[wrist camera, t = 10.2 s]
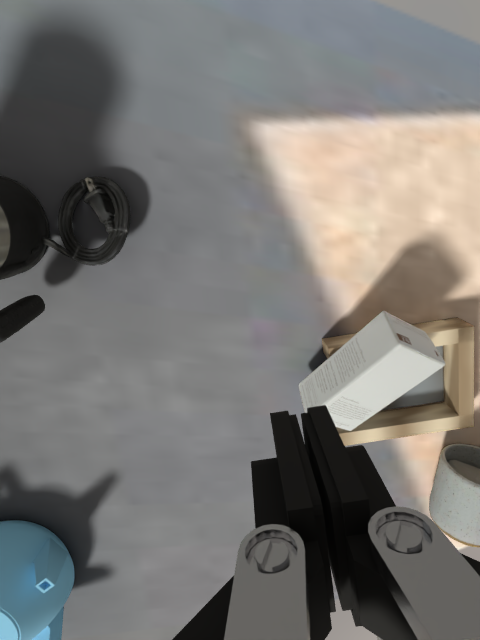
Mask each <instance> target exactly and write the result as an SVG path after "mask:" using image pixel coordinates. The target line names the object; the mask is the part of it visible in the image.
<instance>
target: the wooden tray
mask: <svg viewBox="0 0 480 640" xmlns="http://www.w3.org/2000/svg"><path fill="white" fill-rule="evenodd" d="M413 326H415V327H417V328H419V329H421V330H423V331H425V332H426V334H427V335H428V336H429V338H430V339H431V341H432V342H433V344H434V345H435V347H436V349H437V350H438V352H439V353H440V355H441V356H442V358H443V360H444V361H445V366H444V388H443V367H442V368H441V369H439V370H438V371H436V372H435V373H434V374H432V375H431V376H429V377H428V378H426V379H425V380H423V381H422V382H421V383H419V384H418V385H416V386H415V387H413V388H412V389H410V390H409V391H408V392H406V393H405V394H403V395H402V396H400V397H399V398H398V399H396V400H395V401H393V402H392V403H390V404H389V405H387V406H386V407H385V408H383V409H382V410H388V409H395V408H401V409H395V410H388V411H382V410H380V411H381V412H377V413H376V414H375V415H373V416H372V417H370V418H369V419H367V420H366V421H365V422H363V423H362V424H360V425H359V426H357V427H356V428H355V429H353V430H351V431H348V430H345V429H341V428H338V427H336V428H337V431H338V433H339V435H340V437H341V439H342V441H343V444H344V446H346V445H353V444H360V443H367V442H373V441H380V440H387V439H394V438H400V437H407V436H414V435H421V434H428V433H434V432H441V431H448V430H455V429H461V428H468V427H474V326H473V325H471V324H469V323H467V322H465V321H463V320H461V319H459V318H451V319H445V320H438V321H432V322H425V323H419V324H413ZM356 334H357V333H355V334H348V335H342V336H336V337H329V338H323V339H322V344H323V352H324V354H325V355H326V357H327V359H328V358H329V357H330V356H331V355H333V354H334V353H335V352H336V351H337V350H338V349H340V348H341V347H342V346H343V345H344V344H345V343H346V342H347V341H349V340H350V339H351V338H352V337H353V336H354V335H356ZM442 401H444V402H442ZM435 402H441V403H435ZM428 403H435V404H428ZM422 404H428V405H422ZM415 405H421V406H415ZM408 406H415V407H408ZM402 407H408V408H402Z"/></svg>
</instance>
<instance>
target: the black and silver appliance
mask: <svg viewBox="0 0 480 640" xmlns="http://www.w3.org/2000/svg"><path fill="white" fill-rule="evenodd" d="M88 191H89V194H88V195H87V196H86V197H85V198H84V202H86V203H89V204H90V205H91V207H92V209H93V210H94V211H95V213H96V214H97V215H98V217H99V221H100V222H102V223H104V225H105V228H106V231H107V232H108V233H109V236H108V238H107V240H106V242H105V243H104V244H103V245H102V246H101V247H99V248H96V249H87V248H85V247H83V246H81V245H80V244H79V243H78V241H77V240H76V239H75V236H74V233H73V227H72V218H73V213H74V210H75V207H76V205H77V203H78V201H79V200H80V198H81V197H82V196H83V195H84V194H85V193H86V192H88ZM112 202H113V203H112ZM113 204H114V206H113ZM129 225H130V206H129V202H128V199H127V197H126V195H125V193H124V192H123V190H122V189H121V188H120V187H119V186H118V185H117V184H116V183H115V182H113V181H112V180H109V179H107V178H105V177H87V178H86V179H83V180H81V181H80V182H79V183H76V184H75V185H73V186H72V187H71V188H70V189H69V190H68V191H67V193H66V194H65V196H64V198H63V201H62V205H61V207H60V211H59V216H58V227H59V232H60V236H61V239H62V241H63V244H64V245H65V248H66V249H65V248H63V247H61V246H60V245H59V244H57V243H56V242H55V241H53V240H51V239H49V229H48V222H47V218H46V216H45V213H44V211H43V208H42V206H41V205H40V203H39V202H38V200H37V199H36V198H35V196H34V195H33V194H32V193H31V192H30V191H29V190H28V189H26V188H25V187H24V186H23V185H21V184H19V183H17V182H16V181H14V180H12V179H9V178H6V177H3V176H0V280H2V279H5V278H9V277H12V276H14V275H17V274H20V273H23V272H25V271H27V270H29V269H31V268H32V267H33V266H35V265H36V264H37V263H38V262H39V261H40V259H41V258H42V256H43V255H44V253H45V250H46V248H47V245H48V246H50V247H52V248H54V249H56V250H57V251H59V252H61V253H62V254H64V255H66V256H68V257H70V258H72V259H74V260H75V261H78V262H80V263H82V264H87V265H92V266H95V265H102V264H105V263H107V262H109V261H110V260H112V259H113V258H114V257H115V256H116V255H117V254H118V253H119V252H120V250H121V249H122V247H123V245H124V243H125V240H126V237H127V234H128V230H129ZM44 309H45V304H44V301H43V299H42V298H41V297H40V296H38V295H31V296H27V297H25V298H22V299H20V300H18V301H16V302H15V303H13V304H11V305H9V306H7V307H6V308H4V309H2V310H0V343H1V342H3V341H4V340H6V339H7V338H9V337H10V336H11V335H13V334H14V333H16V332H17V331H19V330H20V329H21V328H23V327H24V326H25V325H27V324H28V323H29V322H31V321H32V320H33V319H35V318H36V317H37V316H39V315H40V314H41V313H42V312H43V311H44Z"/></svg>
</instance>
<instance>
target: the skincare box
mask: <svg viewBox="0 0 480 640" xmlns="http://www.w3.org/2000/svg"><path fill="white" fill-rule="evenodd" d="M443 366H445V361H444V360H443V358H442V356H441V355H440V353H439V352H438V350H437V349H436V347H435V345H434V344H433V342H432V341H431V339H430V338H429V336H428V335H427V334H426V332H425V331H423V330H421V329H419V328H417V327H415V326H413V325H411V324H409V323H407V322H405V321H403V320H401V319H399V318H397V317H395V316H393V315H391V314H389V313H388V312H386V311H382V312H381V313H380V314H378V315H377V316H376V317H375V318H374V319H373V320H372V321H370V322H369V323H368V324H367V325H366V326H365V327H364V328H362V329H361V330H360V331H359V332H358V333H357V334H356V335H354V336H353V337H352V338H351V339H350V340H349V341H347V342H346V343H345V344H344V345H343V346H342V347H341V348H340V349H338V350H337V351H336V352H335V353H334V354H333V355H331V356H330V357H329V358H328V359H327V360H326V361H325V362H323V363H322V364H321V365H320V366H319V367H318V368H317V369H315V370H314V371H313V372H312V373H311V374H310V375H309V376H308V377H306V378H305V379H304V380H303V381H302V382H301V383H300V384H299V390H300V395H301V399H302V403H303V407H304V411H305V413H307V408H309V407H315V406H322V405H326V407H327V409H328V411H329V413H330V415H331V417H332V420H333V422H334V424H335V426H336V427H338V428H341V429H345V430H348V431H351V430H353V429H355V428H356V427H357V426H359V425H360V424H362V423H363V422H365V421H366V420H367V419H369V418H370V417H372V416H373V415H375V414H376V413H377V412H379V411H380V410H382V409H383V408H385V407H386V406H387V405H389V404H390V403H392V402H393V401H395V400H396V399H398V398H399V397H400V396H402V395H403V394H405V393H406V392H408V391H409V390H410V389H412V388H413V387H415V386H416V385H418V384H419V383H421V382H422V381H423V380H425V379H426V378H428V377H429V376H431V375H432V374H434V373H435V372H436V371H438V370H439V369H441V368H442V367H443Z"/></svg>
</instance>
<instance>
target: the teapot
mask: <svg viewBox="0 0 480 640" xmlns="http://www.w3.org/2000/svg"><path fill="white" fill-rule="evenodd" d="M73 584H74V565H73V562H72V559H71V556H70V554H69V552H68V550H67V548H66V547H65V545H64V544H63V542H62V541H61V540H60V539H59V538H58V537H57V536H56V535H55V534H54V533H53V532H51V531H50V530H48V529H47V528H45V527H43V526H41V525H38V524H36V523H32V522H28V521H22V520H9V521H1V522H0V640H61V635H62V622H63V609H64V607H63V605H64V604H65V602H66V600H67V599H68V597H69V595H70V593H71V590H72V588H73Z"/></svg>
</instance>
